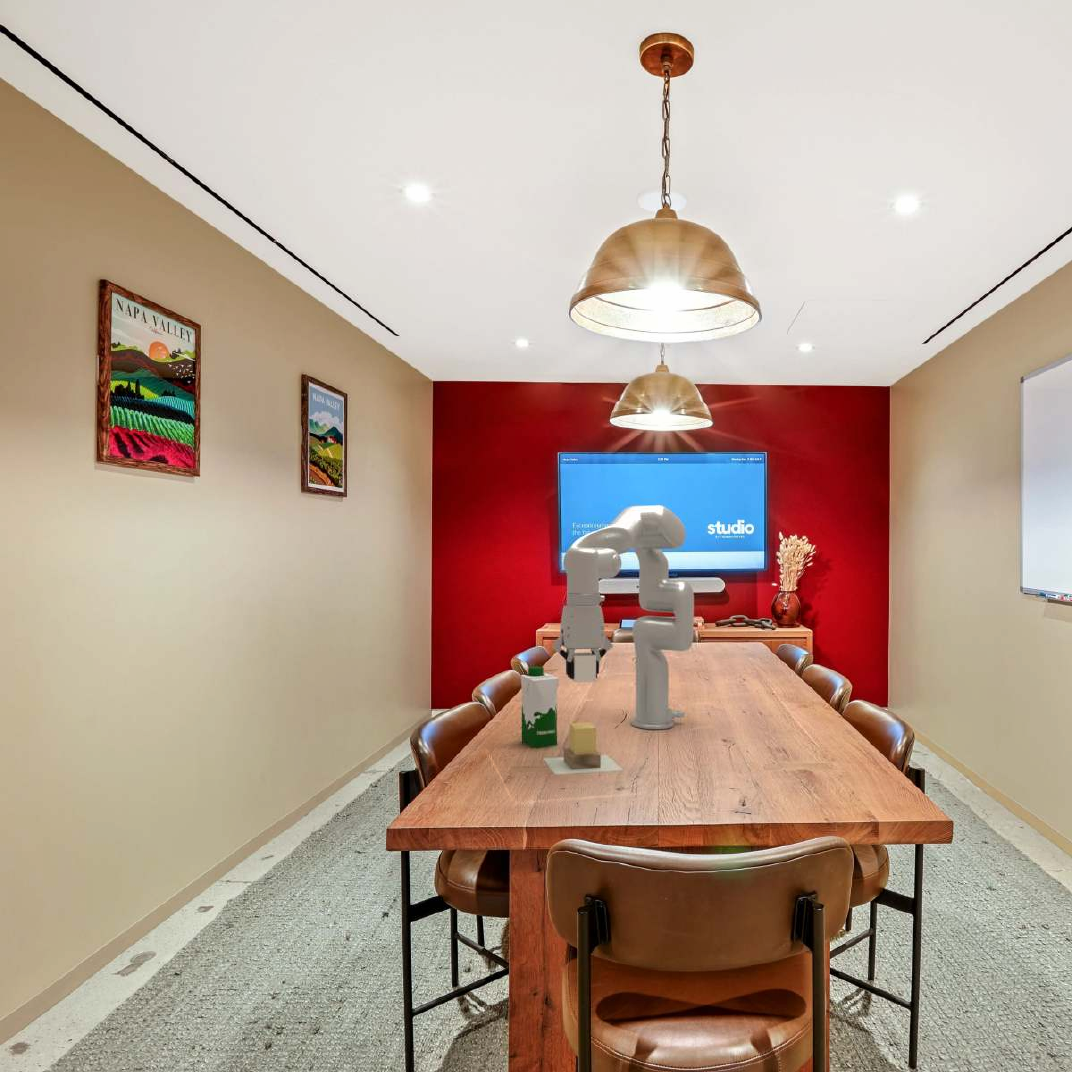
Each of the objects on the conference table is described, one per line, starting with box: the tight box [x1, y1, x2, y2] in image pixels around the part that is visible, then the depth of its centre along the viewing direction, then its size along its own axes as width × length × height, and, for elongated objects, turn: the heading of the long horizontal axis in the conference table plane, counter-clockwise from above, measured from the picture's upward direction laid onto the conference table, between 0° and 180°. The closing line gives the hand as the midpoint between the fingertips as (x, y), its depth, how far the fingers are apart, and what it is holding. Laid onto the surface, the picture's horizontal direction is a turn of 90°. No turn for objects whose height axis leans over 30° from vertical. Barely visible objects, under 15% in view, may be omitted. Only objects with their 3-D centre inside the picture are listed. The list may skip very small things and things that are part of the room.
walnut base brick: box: [563, 747, 602, 770], centre depth 163 cm, size 7×7×3 cm
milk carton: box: [520, 665, 560, 749], centre depth 180 cm, size 9×9×20 cm
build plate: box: [543, 754, 623, 776], centre depth 163 cm, size 16×12×1 cm
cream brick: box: [570, 652, 597, 683], centre depth 163 cm, size 5×5×6 cm
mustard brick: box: [568, 722, 597, 755], centre depth 163 cm, size 5×5×6 cm
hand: (582, 676), depth 163 cm, fingers closed on cream brick, 5 cm apart
